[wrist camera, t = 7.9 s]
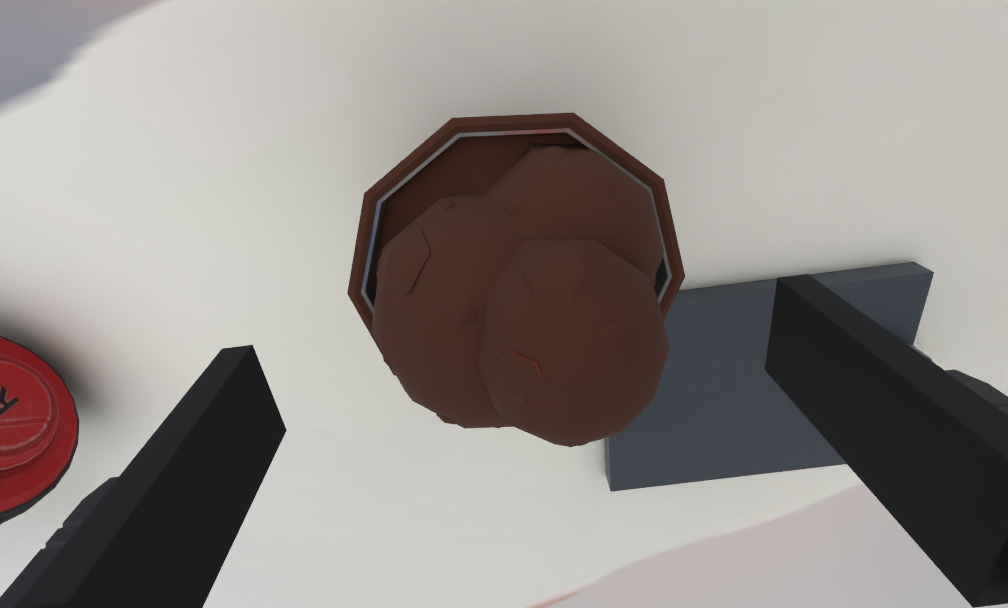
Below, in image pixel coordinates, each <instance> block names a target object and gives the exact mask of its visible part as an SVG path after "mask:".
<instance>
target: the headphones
mask: <svg viewBox="0 0 1008 608" xmlns="http://www.w3.org/2000/svg"><path fill="white" fill-rule="evenodd" d="M78 434H79V418H78V414H77V410H76V406H75V402H74V399H73V397H72V395H71V393H70V392H69V390H68V388H67V386H66V384H65V383H64V381H63V379H62V378H61V377H60V376H59V375H58V374H57V373H56V372H55V371H54V370H53V368H52V367H51V366H50V365H49V364H48V363H47V362H46V361H44V360H43V359H42V358H40V357H39V356H37V355H36V354H35V353H33V352H32V351H30V350H29V349H27V348H26V347H24V346H22V345H20V344H18V343H15V342H13V341H11V340H9V339H7V338H4V337H2V336H0V524H2V523H4V522H6V521H8V520H10V519H12V518H14V517H16V516H18V515H20V514H22V513H24V512H25V511H27V510H28V509H29V508H31V507H32V506H33V505H35V504H36V503H37V502H38V501H39V500H41V499H42V498H43V497H44V496H46V495H47V494H48V493H49V492H50V491H52V490H53V489H54V488H55V487H56V485H57V484H58V483H59V481H60V480H61V478H62V477H63V476H64V474H65V473H66V471H67V470H68V469H69V467H70V465H71V462H72V459H73V456H74V453H75V451H76V448H77V445H78Z"/></svg>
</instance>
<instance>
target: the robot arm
mask: <svg viewBox="0 0 1008 608" xmlns="http://www.w3.org/2000/svg"><path fill="white" fill-rule="evenodd" d="M765 371H766V372H767V373H768V374H769V375H770V377H771V378H772V379H773V380H774V381H775V382H776V383H777V385H778V386H779V387H780V388H781V389H782V390H783V391H784V393H785V394H786V395H787V396H788V397H789V398H790V399H791V401H792V402H793V403H794V404H795V405H796V406H797V407H798V408H799V410H800V411H801V412H802V413H803V414H804V415H805V416H806V418H807V419H808V420H809V421H810V422H811V423H812V424H813V426H814V427H815V428H816V429H817V430H818V431H819V432H820V434H821V435H822V436H823V437H824V438H825V439H826V440H827V442H828V443H829V444H830V445H831V446H832V447H833V448H834V450H835V451H836V452H837V453H838V454H839V455H840V456H841V458H842V459H843V460H844V461H845V462H846V463H847V464H848V466H849V467H850V468H851V469H852V470H853V471H854V472H855V473H856V475H857V476H858V477H859V478H860V479H861V480H862V481H863V483H864V484H865V485H866V486H867V487H868V488H869V489H870V490H871V492H872V493H873V494H874V495H875V496H876V497H877V499H878V500H879V501H880V502H881V503H882V504H883V505H884V507H885V508H886V509H887V510H888V511H889V512H890V513H891V514H892V516H893V517H894V518H895V519H896V520H897V521H898V523H899V524H900V525H901V526H902V527H903V528H904V529H905V531H906V532H907V533H908V534H909V535H910V536H911V537H912V538H913V540H914V541H915V542H916V543H917V544H918V545H919V546H920V548H921V549H922V550H923V551H924V552H925V553H926V554H927V556H928V557H929V558H930V559H931V560H932V561H933V562H934V564H935V565H936V566H937V567H938V568H939V569H940V570H941V572H942V573H943V574H944V575H945V576H946V577H947V578H948V580H949V581H950V582H951V583H952V584H953V585H954V586H955V587H956V589H957V590H958V591H959V592H960V593H961V594H962V595H963V597H964V598H965V599H966V600H967V601H968V602H969V603H970V605H971V606H972V607H973V608H974V607H982V606H990V605H998V604H1006V603H1008V397H1007V396H1006V395H1004V394H1003V393H1001V392H1000V391H998V390H997V389H995V388H994V387H992V386H991V385H989V384H988V383H985V382H983V381H981V380H978V379H976V378H973V377H971V376H969V375H966V374H964V373H962V372H959V371H957V370H947V371H945V370H943V369H942V368H940V367H939V366H937V365H936V364H935V363H933V362H932V361H930V360H929V359H928V358H926V357H925V356H923V355H922V354H920V353H919V352H918V351H916V350H915V349H913V348H912V347H911V346H909V345H908V344H906V343H905V342H903V341H902V340H901V339H899V338H898V337H896V336H895V335H894V334H892V333H891V332H889V331H888V330H886V329H885V328H884V327H882V326H881V325H879V324H878V323H877V322H875V321H874V320H872V319H871V318H870V317H868V316H867V315H865V314H864V313H862V312H861V311H860V310H858V309H857V308H855V307H854V306H853V305H851V304H850V303H848V302H847V301H845V300H844V299H843V298H841V297H840V296H838V295H837V294H836V293H834V292H833V291H831V290H830V289H828V288H827V287H826V286H824V285H823V284H821V283H820V282H819V281H817V280H816V279H814V278H813V277H811V276H810V275H809V274H805V275H797V276H789V277H781V278H777V284H776V291H775V298H774V305H773V312H772V320H771V327H770V334H769V341H768V348H767V356H766V363H765ZM285 432H286V428H285V425H284V423H283V420H282V418H281V415H280V413H279V410H278V408H277V405H276V403H275V400H274V398H273V395H272V393H271V390H270V388H269V385H268V383H267V380H266V378H265V375H264V373H263V370H262V368H261V365H260V363H259V360H258V357H257V355H256V352H255V350H254V347H253V345H248V346H240V347H232V348H225V349H222V350H221V351H220V352H219V353H218V355H217V356H216V357H215V358H214V359H213V361H212V362H211V363H210V364H209V366H208V367H207V368H206V369H205V371H204V372H203V373H202V374H201V376H200V377H199V378H198V379H197V381H196V382H195V383H194V384H193V386H192V387H191V388H190V389H189V391H188V392H187V393H186V394H185V396H184V397H183V398H182V399H181V400H180V402H179V403H178V404H177V405H176V407H175V408H174V409H173V410H172V412H171V413H170V414H169V415H168V417H167V418H166V419H165V420H164V422H163V423H162V424H161V425H160V427H159V428H158V429H157V430H156V432H155V433H154V434H153V435H152V436H151V438H150V439H149V440H148V441H147V443H146V444H145V445H144V446H143V448H142V449H141V450H140V451H139V453H138V454H137V455H136V456H135V458H134V459H133V460H132V461H131V463H130V464H129V465H128V466H127V468H126V469H125V470H124V471H123V473H122V474H121V475H120V476H119V477H113V478H109V479H108V480H107V481H106V482H104V483H103V484H102V485H101V486H99V487H98V488H97V489H96V490H94V491H93V492H92V493H91V494H89V495H88V496H87V497H85V498H84V499H83V500H82V501H81V502H80V503H79V505H78V506H77V507H76V508H75V509H74V511H73V512H72V513H71V514H70V515H69V517H68V518H67V519H66V520H65V521H64V522H63V527H62V528H59V529H58V530H57V531H56V532H55V533H54V534H53V535H52V537H51V538H50V539H49V540H48V541H47V543H46V547H45V549H41V550H40V551H39V552H38V553H37V554H36V556H35V557H34V558H33V559H32V560H31V562H30V563H29V564H28V565H27V566H26V567H25V569H24V570H23V571H22V572H21V573H20V575H19V576H18V577H17V578H16V579H15V581H14V582H13V583H12V584H11V585H10V586H9V588H8V589H7V590H6V591H5V592H4V594H3V595H2V596H1V597H0V608H202V607H203V605H204V603H205V601H206V599H207V597H208V595H209V593H210V590H211V588H212V586H213V584H214V582H215V580H216V578H217V576H218V574H219V571H220V569H221V567H222V565H223V563H224V561H225V559H226V557H227V555H228V553H229V550H230V548H231V546H232V544H233V542H234V540H235V538H236V536H237V534H238V531H239V529H240V527H241V525H242V523H243V521H244V519H245V517H246V515H247V512H248V510H249V508H250V506H251V504H252V502H253V500H254V498H255V496H256V493H257V491H258V489H259V487H260V485H261V483H262V481H263V479H264V477H265V475H266V472H267V470H268V468H269V466H270V464H271V462H272V460H273V458H274V456H275V453H276V451H277V449H278V447H279V445H280V443H281V441H282V439H283V437H284V434H285Z"/></svg>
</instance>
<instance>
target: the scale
mask: <svg viewBox="0 0 1008 608" xmlns="http://www.w3.org/2000/svg"><path fill="white" fill-rule="evenodd" d="M933 274H934V272H932V271H931V270H929V269H927V268H925V267H923V266H921V265H919V264H917V263H915V262H911V263H903V264H895V265H887V266H878V267H870V268H862V269H854V270H846V271H838V272H829V273H821V274H813V275H810V276H811V277H813V278H814V279H816V280H817V281H819V282H820V283H821V284H823V285H824V286H826V287H827V288H828V289H830V290H831V291H833V292H834V293H836V294H837V295H838V296H840V297H841V298H843V299H844V300H845V301H847V302H848V303H850V304H851V305H853V306H854V307H855V308H857V309H858V310H860V311H861V312H862V313H864V314H865V315H867V316H868V317H870V318H871V319H872V320H874V321H875V322H877V323H878V324H879V325H881V326H882V327H884V328H885V329H886V330H888V331H889V332H891V333H892V334H894V335H895V336H896V337H898V338H899V339H901V340H902V341H903V342H905V343H906V344H908V345H909V346H911V347H912V348H913V349H915V350H916V351H918V352H919V353H920V354H922V355H923V356H925V357H926V358H928V359H929V360H930V361H932V360H931V359H930V358H929V357H928V356H926V355H925V354H924V353H922V352H921V351H919V350H918V349H917V348H915V347H914V346H913V343H914V340H915V336H916V333H917V329H918V326H919V323H920V319H921V316H922V312H923V309H924V305H925V302H926V298H927V295H928V291H929V288H930V284H931V281H932V278H933ZM776 284H777V279H772V280H764V281H756V282H748V283H740V284H732V285H724V286H715V287H707V288H699V289H691V290H683V291H678V292H677V294H676V296H675V298H674V301H673V303H672V305H671V307H670V309H669V311H668V313H667V315H666V317H665V319H664V321H663V322H664V325H665V329H666V333H667V337H668V341H669V345H670V349H669V352H668V356H667V359H666V362H665V365H664V369H663V372H662V375H661V378H660V381H659V385H658V388H657V391H656V394H655V398H654V399H653V401H652V402H651V403H650V404H649V405H648V406H647V407H646V408H645V409H644V410H643V411H642V412H641V413H640V414H639V415H638V416H637V417H636V418H635V419H634V420H633V421H632V422H631V423H630V424H629V425H628V426H627V427H626V428H625V429H624V430H623V431H621V432H620V433H619V434H618V435H614V436H610V437H607V438H605V461H606V477H607V481H608V484H609V487H610V491H620V490H628V489H637V488H645V487H654V486H662V485H671V484H679V483H688V482H697V481H705V480H714V479H722V478H731V477H739V476H748V475H756V474H765V473H773V472H782V471H790V470H799V469H807V468H816V467H824V466H833V465H842V464H847V463H846V462H845V461H844V460H843V459H842V458H841V456H840V455H839V454H838V453H837V452H836V451H835V450H834V448H833V447H832V446H831V445H830V444H829V443H828V442H827V440H826V439H825V438H824V437H823V436H822V435H821V434H820V432H819V431H818V430H817V429H816V428H815V427H814V426H813V424H812V423H811V422H810V421H809V420H808V419H807V418H806V416H805V415H804V414H803V413H802V412H801V411H800V410H799V408H798V407H797V406H796V405H795V404H794V403H793V402H792V401H791V399H790V398H789V397H788V396H787V395H786V394H785V393H784V391H783V390H782V389H781V388H780V387H779V386H778V385H777V383H776V382H775V381H774V380H773V379H772V378H771V377H770V375H769V374H768V373H767V372H766V371H765V363H766V356H767V348H768V341H769V334H770V327H771V320H772V312H773V305H774V298H775V291H776Z"/></svg>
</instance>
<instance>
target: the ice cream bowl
mask: <svg viewBox="0 0 1008 608" xmlns="http://www.w3.org/2000/svg"><path fill="white" fill-rule="evenodd" d="M684 278H685V274H684V269H683V265H682V260H681V256H680V251H679V247H678V242H677V237H676V233H675V228H674V224H673V219H672V215H671V210H670V206H669V201H668V197H667V192H666V188H665V183H664V179H662V178H661V177H660V176H658V175H657V174H656V173H654V172H653V171H652V170H650V169H649V168H648V167H646V166H645V165H644V164H642V163H641V162H640V161H638V160H637V159H635V158H634V157H633V156H631V155H630V154H629V153H627V152H626V151H625V150H623V149H622V148H621V147H619V146H618V145H617V144H615V143H614V142H613V141H611V140H610V139H609V138H607V137H606V136H604V135H603V134H602V133H600V132H599V131H598V130H596V129H595V128H594V127H592V126H591V125H590V124H588V123H587V122H586V121H584V120H583V119H582V118H580V117H579V116H578V115H576V114H575V113H555V114H532V115H509V116H486V117H463V118H452V119H450V120H449V121H448V122H447V123H446V124H445V125H443V126H442V127H441V128H440V129H439V130H438V131H436V132H435V133H434V134H433V135H432V136H431V137H429V138H428V139H427V140H426V141H425V142H424V143H422V144H421V145H420V146H419V147H418V148H417V149H415V150H414V151H413V152H412V153H411V154H410V155H408V156H407V157H406V158H405V159H404V160H403V161H401V162H400V163H399V164H398V165H397V166H396V167H394V168H393V169H392V170H391V171H390V172H389V173H387V174H386V175H385V176H384V177H383V178H382V179H380V180H379V181H378V182H377V183H376V184H375V185H373V186H372V187H371V188H370V189H369V190H368V191H366V192H365V193H364V198H363V204H362V210H361V216H360V222H359V228H358V234H357V240H356V246H355V252H354V258H353V264H352V270H351V275H350V281H349V287H348V293H347V294H348V295H349V297H350V299H351V301H352V302H353V304H354V306H355V308H356V309H357V311H358V313H359V315H360V317H361V318H362V320H363V322H364V324H365V325H366V327H367V329H368V331H369V332H370V334H371V336H372V338H373V339H374V341H375V343H376V345H377V346H378V348H379V350H380V352H381V353H382V355H383V358H384V362H385V363H386V364H387V365H388V366H389V368H390V369H391V371H392V373H393V375H395V376H397V378H398V379H399V381H400V383H401V385H402V386H403V388H404V390H405V391H406V393H407V394H408V395H409V397H410V398H411V399H412V401H414V402H416V403H418V404H420V405H422V406H423V407H425V408H427V409H429V410H431V411H433V412H435V413H436V414H437V416H438V417H439V418H440V419H441V420H442V421H443V422H445V423H450V424H457V425H459V426H461V427H463V428H486V427H495V428H500V427H516V428H518V429H521V430H523V431H525V432H528V433H530V434H532V435H535V436H537V437H539V438H542V439H544V440H546V441H548V442H551V443H553V444H557V445H563V446H568V447H573V446H577V445H578V446H582V445H584V444H587V443H589V442H592V441H595V440H599V439H603V438H607V437H610V436H614V435H618V434H619V433H620V432H621V431H623V430H624V429H625V428H626V427H627V426H628V425H629V424H630V423H631V422H632V421H633V420H634V419H635V418H636V417H637V416H638V415H639V414H640V413H641V412H642V411H643V410H644V409H645V408H646V407H647V406H648V405H649V404H650V403H651V402H652V401H653V399H654V398H655V394H656V391H657V388H658V385H659V381H660V378H661V375H662V372H663V369H664V365H665V362H666V359H667V356H668V352H669V349H670V345H669V341H668V337H667V333H666V329H665V325H664V322H663V321H664V319H665V317H666V315H667V313H668V311H669V309H670V307H671V305H672V303H673V301H674V298H675V296H676V294H677V292H678V290H679V288H680V286H681V284H682V282H683V280H684Z"/></svg>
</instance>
